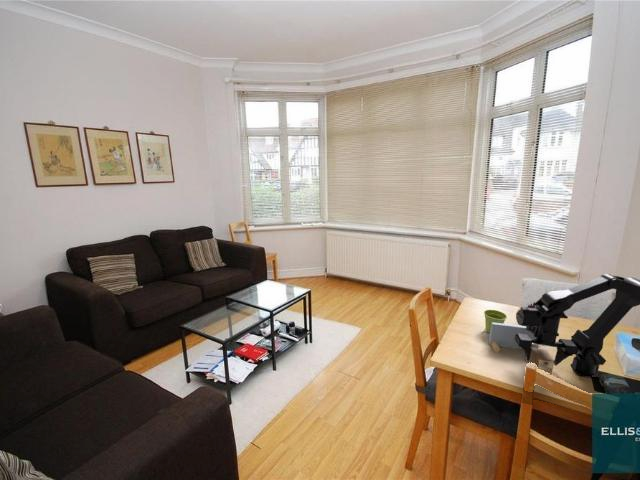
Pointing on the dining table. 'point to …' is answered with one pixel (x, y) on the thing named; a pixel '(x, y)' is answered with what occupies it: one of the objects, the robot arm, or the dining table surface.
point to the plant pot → (493, 318)
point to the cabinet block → (542, 359)
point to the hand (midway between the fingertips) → (541, 362)
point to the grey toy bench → (507, 335)
